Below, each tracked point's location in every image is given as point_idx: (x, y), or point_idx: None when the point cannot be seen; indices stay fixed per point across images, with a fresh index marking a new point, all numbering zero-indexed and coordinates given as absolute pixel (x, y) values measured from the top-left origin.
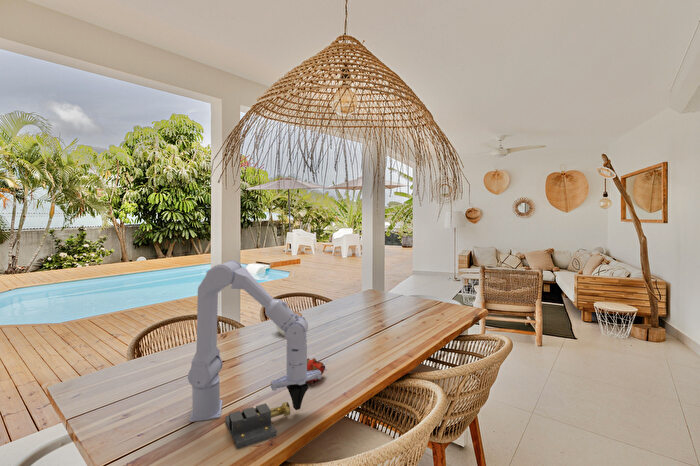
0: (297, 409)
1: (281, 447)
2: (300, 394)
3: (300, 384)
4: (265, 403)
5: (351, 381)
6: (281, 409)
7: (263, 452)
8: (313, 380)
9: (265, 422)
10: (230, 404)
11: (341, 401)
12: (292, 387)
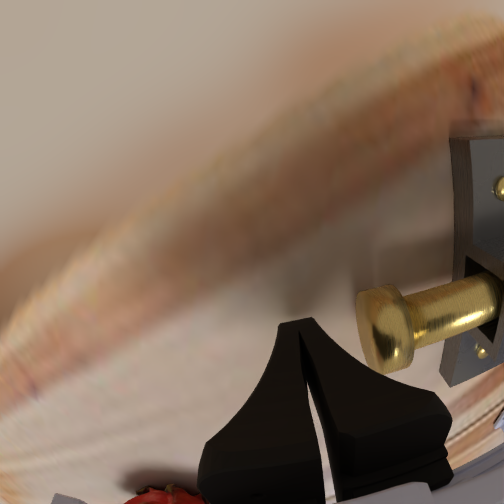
0: (301, 320)
1: (434, 35)
2: (302, 395)
3: (402, 495)
4: (497, 361)
5: (27, 435)
6: (428, 312)
7: (499, 53)
8: (163, 492)
9: (498, 240)
10: (486, 413)
11: (37, 345)
12: (409, 461)
